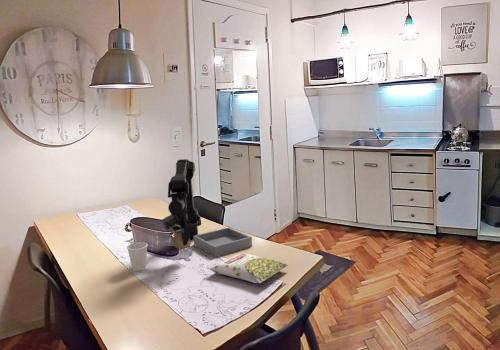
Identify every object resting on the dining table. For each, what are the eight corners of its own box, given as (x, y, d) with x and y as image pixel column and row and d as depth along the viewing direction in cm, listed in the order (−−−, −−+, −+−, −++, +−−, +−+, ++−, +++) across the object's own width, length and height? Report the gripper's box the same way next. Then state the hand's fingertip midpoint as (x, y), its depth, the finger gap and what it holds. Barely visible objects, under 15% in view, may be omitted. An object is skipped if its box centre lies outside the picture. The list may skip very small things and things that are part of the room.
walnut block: (174, 246, 180) (173, 231, 179) (185, 244, 183) (184, 228, 182) (179, 249, 176) (178, 234, 175) (190, 247, 179) (189, 231, 178)
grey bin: (193, 244, 200) (193, 235, 199) (229, 235, 212) (228, 227, 211) (215, 256, 184) (214, 247, 183) (252, 246, 195) (251, 237, 195)
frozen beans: (260, 275, 149) (206, 261, 163) (260, 290, 150) (207, 276, 164) (288, 258, 166) (238, 247, 180) (288, 272, 167) (238, 260, 181)
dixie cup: (138, 273, 169) (136, 250, 167) (124, 269, 173) (122, 247, 172) (153, 266, 176) (151, 243, 174) (139, 262, 180) (137, 240, 179)
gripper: (153, 207, 179) (156, 242, 182) (171, 216, 164) (174, 254, 167) (176, 203, 186) (179, 236, 189) (196, 211, 171) (199, 247, 174)
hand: (182, 243), depth 179 cm, fingers closed on walnut block, 5 cm apart
